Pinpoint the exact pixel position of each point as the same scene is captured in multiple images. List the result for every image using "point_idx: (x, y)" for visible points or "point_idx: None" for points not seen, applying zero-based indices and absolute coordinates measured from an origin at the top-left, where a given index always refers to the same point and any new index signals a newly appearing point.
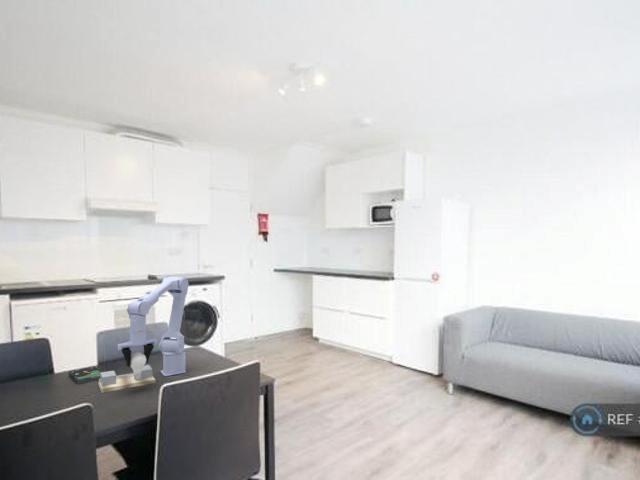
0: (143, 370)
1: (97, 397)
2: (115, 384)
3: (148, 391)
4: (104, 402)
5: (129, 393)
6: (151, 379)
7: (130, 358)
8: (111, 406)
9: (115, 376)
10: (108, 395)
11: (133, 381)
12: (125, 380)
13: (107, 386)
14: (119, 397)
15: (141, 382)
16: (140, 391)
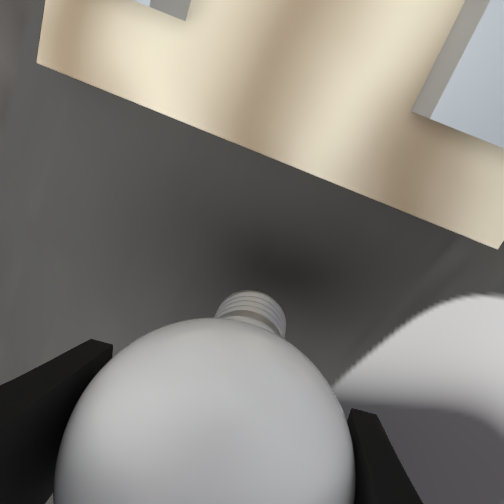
0: (477, 132)
1: (10, 136)
2: (171, 43)
3: (313, 348)
4: (23, 268)
5: (203, 265)
6: (473, 220)
7: (54, 482)
8: (36, 356)
9: (148, 6)
10: (81, 168)
11: (330, 116)
12: (299, 2)
13: (97, 31)
14: (122, 273)
15: (369, 195)
16: (277, 299)
